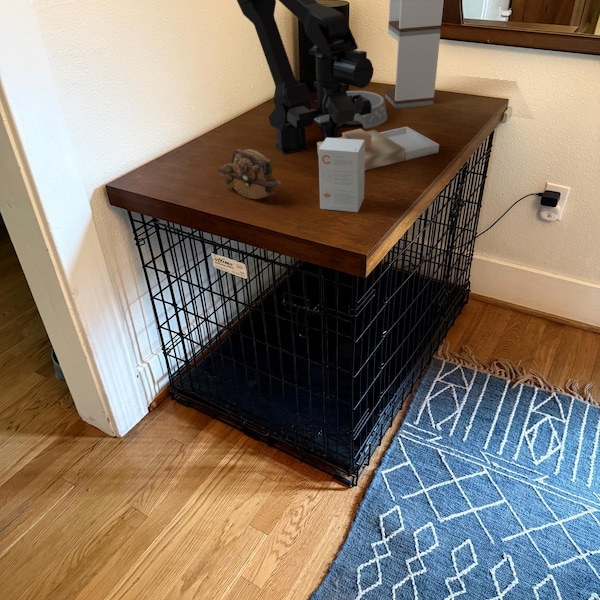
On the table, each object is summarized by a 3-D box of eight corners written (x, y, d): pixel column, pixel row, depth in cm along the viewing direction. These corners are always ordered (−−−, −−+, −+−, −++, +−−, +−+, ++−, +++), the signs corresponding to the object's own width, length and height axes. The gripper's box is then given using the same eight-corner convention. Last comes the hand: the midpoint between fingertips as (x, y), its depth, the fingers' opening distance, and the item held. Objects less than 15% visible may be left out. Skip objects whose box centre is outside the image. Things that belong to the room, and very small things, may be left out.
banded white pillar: (421, 93, 172) (432, -40, 150) (433, 104, 163) (447, -35, 142) (385, 97, 170) (391, -37, 149) (395, 108, 162) (403, -32, 141)
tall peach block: (352, 151, 131) (352, 139, 129) (342, 144, 134) (342, 132, 132) (371, 147, 132) (371, 135, 130) (360, 140, 136) (360, 128, 134)
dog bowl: (386, 130, 150) (387, 110, 146) (318, 129, 152) (317, 109, 149) (388, 108, 163) (389, 89, 160) (325, 108, 166) (325, 89, 163)
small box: (364, 199, 118) (366, 139, 110) (357, 213, 113) (359, 151, 105) (326, 195, 120) (326, 136, 112) (319, 209, 115) (317, 148, 108)
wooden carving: (215, 192, 124) (208, 148, 118) (228, 184, 127) (222, 141, 121) (274, 209, 116) (271, 164, 110) (287, 200, 119) (284, 156, 113)
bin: (405, 160, 133) (405, 152, 132) (374, 141, 143) (375, 133, 142) (438, 152, 136) (439, 144, 134) (406, 134, 146) (406, 126, 145)
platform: (344, 175, 128) (344, 162, 126) (317, 154, 138) (317, 142, 136) (404, 160, 133) (405, 148, 131) (373, 141, 143) (374, 129, 141)
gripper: (306, 95, 112) (308, 169, 122) (386, 80, 118) (382, 151, 127) (284, 82, 120) (288, 151, 130) (360, 68, 126) (358, 135, 136)
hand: (330, 147), depth 130 cm, fingers closed
